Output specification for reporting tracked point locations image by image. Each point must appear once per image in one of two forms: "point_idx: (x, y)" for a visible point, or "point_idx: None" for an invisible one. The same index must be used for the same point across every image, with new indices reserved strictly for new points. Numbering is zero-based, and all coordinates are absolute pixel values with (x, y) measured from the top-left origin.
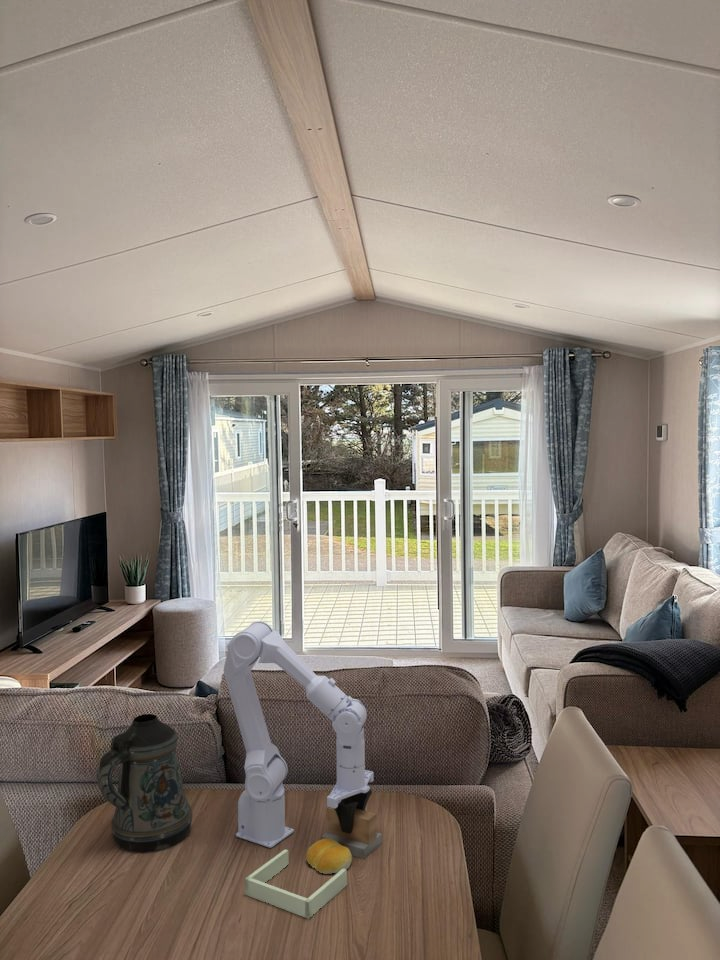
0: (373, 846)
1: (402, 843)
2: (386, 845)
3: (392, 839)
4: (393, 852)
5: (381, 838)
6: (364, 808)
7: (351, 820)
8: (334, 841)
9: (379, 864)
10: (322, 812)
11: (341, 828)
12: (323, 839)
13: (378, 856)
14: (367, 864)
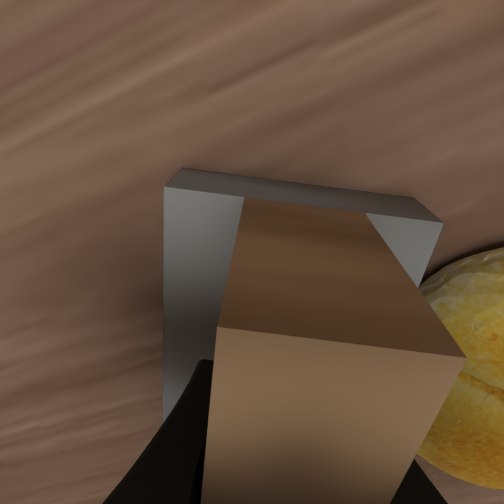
0: (294, 190)
1: (102, 12)
2: (191, 125)
3: (96, 118)
4: (260, 27)
5: (177, 177)
6: (146, 479)
7: (429, 489)
8: (455, 417)
9: (464, 62)
10: (81, 493)
11: None
12: (487, 476)
13: (353, 118)
14: (478, 148)
